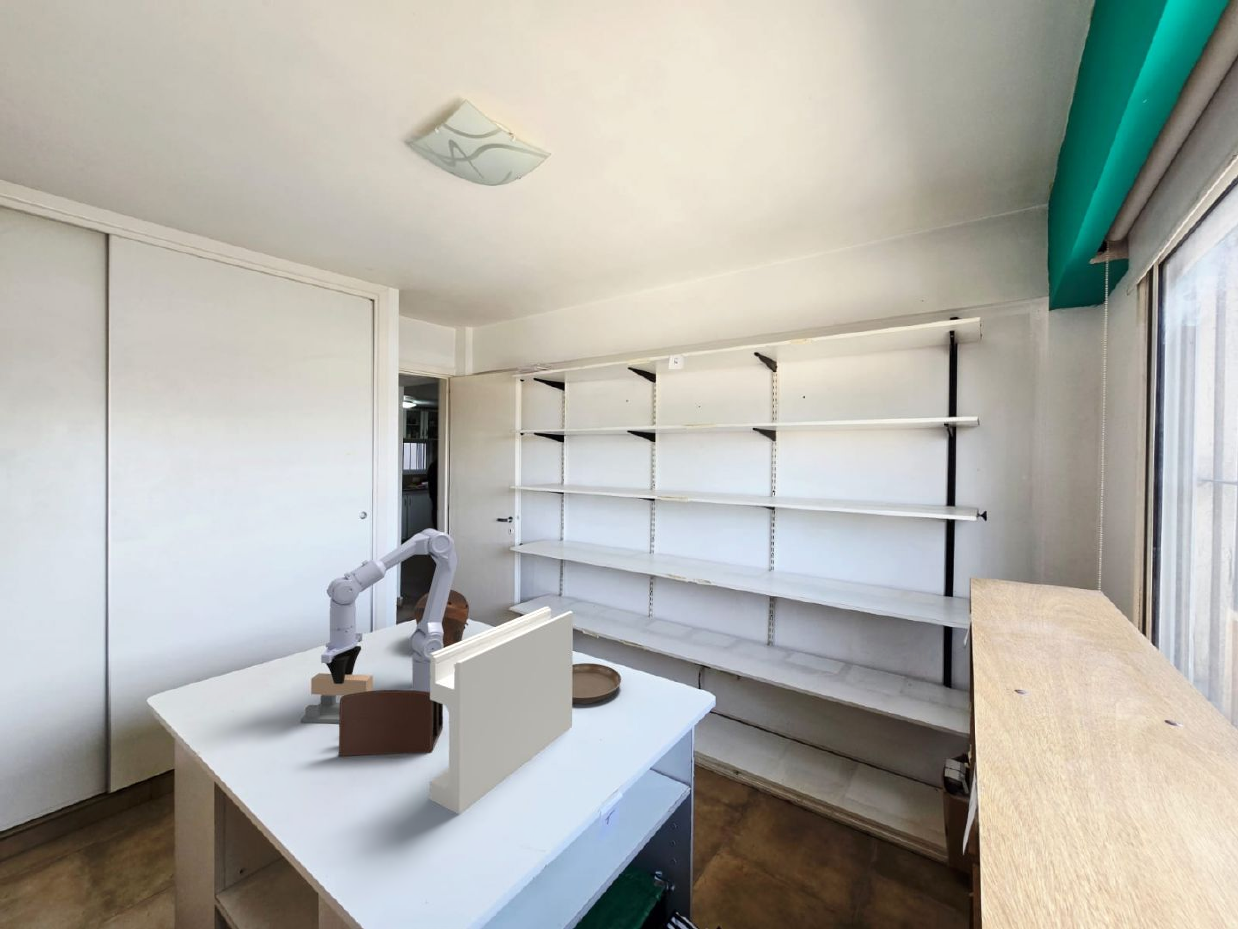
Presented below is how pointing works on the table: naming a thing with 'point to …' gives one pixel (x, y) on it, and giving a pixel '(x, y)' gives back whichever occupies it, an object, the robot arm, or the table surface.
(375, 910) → the table surface
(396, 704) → the letter holder
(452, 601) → the case
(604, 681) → the plant saucer
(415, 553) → the robot arm
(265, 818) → the table surface
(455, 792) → the white panel with ledge
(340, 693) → the light brown rectangular bar
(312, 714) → the plate with corner studs
